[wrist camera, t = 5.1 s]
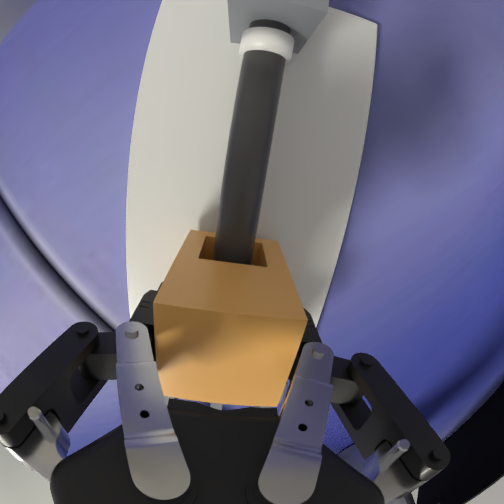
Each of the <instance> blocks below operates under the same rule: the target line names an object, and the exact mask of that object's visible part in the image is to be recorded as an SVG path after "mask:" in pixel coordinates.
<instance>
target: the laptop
mask: <svg viewBox="0 0 504 504" xmlns="http://www.w3.org/2000/svg"><path fill="white" fill-rule="evenodd" d="M443 443H444V444H445V445H446V447H447V448H448V450H449V452H450V462H449V464H448V465H447V467H445V468H444V469H443V470H442V471H440V472H439V473H438V474H436V475H435V476H434V477H432V478H431V479H430V480H428V481H427V482H425V483H424V484H423V485H421V486H420V487H419V491H418V498H417V504H465V503H467V502H468V501H470V500H472V499H473V498H475V497H476V496H477V495H479V494H480V493H482V492H483V491H484V490H486V489H487V488H489V487H490V486H491V485H493V484H494V483H495V482H497V481H498V480H499V479H500V478H501V477H503V476H504V382H503V383H502V384H501V386H500V387H499V388H498V389H497V390H496V391H495V393H494V394H493V395H492V396H491V397H490V398H489V400H488V401H487V402H486V403H485V404H484V405H483V406H482V407H481V408H480V409H479V410H478V411H477V412H476V413H475V414H474V415H473V416H472V417H471V418H470V419H469V420H468V421H467V422H466V423H465V424H464V425H463V426H462V427H461V428H459V429H458V430H457V431H456V432H455V433H454V434H453V435H451V436H450V437H449V438H448V439H447V440H446V441H444V442H443Z"/></svg>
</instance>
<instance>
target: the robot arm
mask: <svg viewBox="0 0 504 504" xmlns="http://www.w3.org/2000/svg"><path fill="white" fill-rule="evenodd" d="M162 283H163V282H161V284H160V286H159V288H158V290H157V291H156V290H149V291H148V292H147V293H145V294H144V295H143V297H142V299H141V301H140V302H139V304H138V306H137V308H136V309H135V311H134V313H133V315H132V317H131V319H130V321H129V322H125V323H123V324H121V325H119V326H118V327H117V329H116V332H98V329H97V327H96V326H95V325H94V324H92V323H90V322H78V323H75V324H74V325H72V326H71V327H70V328H69V329H67V330H66V331H65V332H64V333H63V334H62V335H61V336H60V337H58V338H57V339H56V340H55V341H54V342H53V343H52V344H51V345H50V346H49V347H48V348H46V349H45V350H44V351H43V352H42V353H41V354H40V355H39V356H38V357H37V358H36V359H35V360H34V361H33V362H32V363H31V364H30V365H29V366H28V367H26V368H25V369H24V370H23V371H22V372H21V373H20V374H19V375H18V376H17V377H16V378H15V379H14V380H13V381H12V382H11V383H10V384H9V385H8V386H7V387H6V388H5V390H4V391H3V392H2V393H1V394H0V443H1V444H2V445H3V446H4V447H5V448H6V449H7V450H8V451H9V452H10V453H11V454H12V455H13V456H14V457H15V458H16V459H17V460H19V461H20V462H21V463H22V464H23V465H24V466H26V467H27V468H28V469H31V470H35V471H36V472H38V473H39V474H40V475H41V476H42V477H44V478H45V479H46V480H47V481H49V482H50V490H51V493H52V497H53V501H54V504H415V502H414V499H413V496H412V494H411V492H412V491H413V490H415V489H417V488H418V487H420V486H421V485H423V484H424V483H425V482H427V481H428V480H430V479H431V478H432V477H434V476H435V475H436V474H438V473H439V472H440V471H442V470H443V469H444V468H445V467H447V465H448V464H449V462H450V452H449V450H448V448H447V447H446V445H445V444H444V443H443V441H442V440H441V439H440V437H439V436H438V435H437V434H436V432H435V431H434V430H433V429H432V427H431V426H430V425H429V423H428V422H427V421H426V420H425V418H424V417H423V416H422V415H421V413H420V412H419V411H418V410H417V408H416V407H415V406H414V405H413V403H412V402H411V401H410V400H409V398H408V397H407V396H406V395H405V394H404V392H403V391H402V390H401V389H400V387H399V386H398V385H397V384H396V383H395V381H394V380H393V379H392V378H391V376H390V375H389V374H388V373H387V372H386V370H385V369H384V368H383V367H382V366H381V364H380V363H379V362H378V361H377V360H376V359H375V358H374V357H373V356H371V355H369V354H366V353H356V354H354V355H353V356H352V358H351V360H347V359H343V358H339V357H336V356H334V353H333V351H332V349H331V348H330V347H328V346H327V345H325V344H323V343H322V342H321V339H320V337H319V334H318V331H317V329H316V327H315V324H314V322H313V319H312V316H311V314H310V313H309V312H308V311H307V310H306V309H305V308H304V311H305V314H306V316H307V319H308V321H307V325H306V328H305V331H304V334H303V337H302V340H301V343H300V346H299V349H298V351H297V354H296V357H295V360H294V363H293V366H292V368H291V371H290V374H289V377H288V379H289V380H290V384H289V387H288V390H287V393H286V395H285V398H284V401H283V404H282V407H281V410H280V412H279V415H278V414H277V408H256V407H249V408H242V409H235V410H227V411H222V410H218V409H215V408H212V407H208V406H205V405H202V404H199V403H196V402H190V401H184V400H177V399H171V398H169V401H168V405H166V402H165V398H164V394H163V391H162V387H161V383H160V379H159V375H158V370H157V366H156V365H157V361H156V349H155V334H154V315H153V301H154V299H155V297H156V295H157V293H158V291H159V289H160V287H161V285H162ZM115 379H117V387H118V396H119V405H120V412H121V419H122V424H121V425H120V426H118V427H117V428H115V429H113V430H112V431H110V432H109V433H107V434H105V435H104V436H102V437H100V438H99V439H97V440H95V441H94V442H92V443H90V444H89V445H87V446H85V447H83V448H82V449H80V450H78V451H76V452H75V453H73V454H71V455H69V456H68V457H67V453H68V449H69V447H70V438H69V435H68V433H69V431H70V430H71V429H72V427H73V426H74V425H75V423H76V422H77V421H78V419H79V418H80V416H81V415H82V414H83V412H84V411H85V410H86V408H87V407H88V406H89V404H90V403H91V402H92V400H93V399H94V398H95V396H96V395H97V394H98V393H99V391H100V390H101V389H102V387H103V386H104V385H105V383H106V382H107V381H108V380H115ZM363 395H364V396H365V398H366V399H367V400H368V402H369V403H370V405H371V407H372V412H371V410H370V409H369V407H368V406H367V404H366V403H365V402H364V400H363V399H362V397H363ZM330 402H331V405H332V406H333V408H334V410H335V412H336V413H337V415H338V417H339V418H340V420H341V422H342V423H343V425H344V427H345V428H346V430H347V432H348V433H349V435H350V437H351V438H352V440H353V442H354V443H355V444H354V445H352V446H350V447H348V448H346V449H345V450H343V451H342V452H341V453H340V454H338V455H336V454H335V453H334V452H333V451H331V450H330V449H329V448H328V447H326V446H325V445H324V444H323V440H324V435H325V430H326V425H327V419H328V414H329V408H330Z"/></svg>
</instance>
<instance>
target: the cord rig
mask: <svg viewBox="0 0 504 504" xmlns="http://www.w3.org/2000/svg"><path fill="white" fill-rule="evenodd" d="M376 41H377V24H376V23H373V22H371V21H368V20H366V19H363V18H361V17H358V16H355V15H352V14H350V13H347V12H344V11H341V10H338V9H335V8H331V7H329V0H162V3H161V6H160V9H159V12H158V15H157V18H156V22H155V25H154V28H153V32H152V35H151V39H150V43H149V47H148V51H147V55H146V59H145V63H144V68H143V72H142V77H141V82H140V87H139V92H138V98H137V104H136V110H135V116H134V123H133V131H132V139H131V148H130V158H129V169H128V184H127V205H126V263H127V284H128V298H129V310H130V319H131V317H132V315H133V313H134V311H135V309H136V308H137V306H138V304H139V302H140V301H141V299H142V297H143V295H144V294H145V293H147V292H148V291H149V290H156V291H157V290H158V288H159V286H160V284H161V282H163V281H164V279H165V277H166V275H167V273H168V271H169V269H170V267H171V265H172V263H173V262H174V260H175V258H176V256H177V254H178V252H179V250H180V248H181V246H182V244H183V243H184V241H185V239H186V237H187V235H188V233H189V232H190V230H199V231H207V232H215V233H216V234H215V243H214V252H213V260H214V261H222V262H230V263H238V264H246V265H251V263H252V257H253V251H254V245H255V239H256V238H260V239H267V240H275V241H278V243H279V246H280V248H281V251H282V253H283V256H284V259H285V261H286V264H287V266H288V269H289V271H290V274H291V277H292V279H293V282H294V284H295V287H296V290H297V292H298V295H299V298H300V300H301V303H302V306H303V308H305V309H306V310H307V311H308V312H309V313H310V314H311V316H312V319H313V322H314V324H315V327H316V326H317V323H318V320H319V318H320V315H321V312H322V309H323V305H324V302H325V299H326V296H327V293H328V290H329V287H330V283H331V280H332V277H333V273H334V270H335V266H336V263H337V259H338V256H339V252H340V249H341V245H342V241H343V237H344V234H345V230H346V226H347V222H348V218H349V214H350V209H351V205H352V201H353V196H354V192H355V187H356V183H357V178H358V173H359V168H360V163H361V158H362V152H363V147H364V141H365V135H366V129H367V123H368V116H369V109H370V102H371V94H372V86H373V77H374V67H375V55H376ZM156 366H157V365H156ZM287 385H288V384H287V382H286V385H285V387H284V390H283V393H282V395H281V398H280V400H279V403H278V404H280V402H281V400H282V397H283V395H284V392H285V390H286V387H287ZM164 398H165V402H166V405H168V401H169V398H171V399H177V400H178V398H174V397H169V396H164ZM222 405H223V404H221V403H211V407H212V408H215V409H218V410H222ZM253 407H256V408H271V406H253Z"/></svg>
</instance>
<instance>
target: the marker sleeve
mask: <svg viewBox="0 0 504 504" xmlns="http://www.w3.org/2000/svg"><path fill="white" fill-rule="evenodd" d="M215 234H216V233H215V232H207V231H199V230H190V232H189V233H188V235H187V237H186V239H185V241H184V243H183V244H182V246H181V248H180V250H179V252H178V254H177V256H176V258H175V260H174V262H173V263H172V265H171V267H170V269H169V271H168V273H167V275H166V277H165V279H164V281H163V283H162V285H161V287H160V289H159V291H158V293H157V295H156V297H155V299H154V301H153V315H154V334H155V349H156V361H157V370H158V375H159V379H160V383H161V387H162V391H163V394H164V396H169V397H174V398H181V399H187V400H195V401H202V402H211V403H221V404H232V405H247V406H273V407H277V405H278V403H279V400H280V398H281V395H282V393H283V390H284V387H285V385H286V382H287V379H288V377H289V374H290V371H291V368H292V366H293V363H294V360H295V357H296V354H297V351H298V349H299V346H300V343H301V340H302V337H303V334H304V331H305V328H306V325H307V321H308V319H307V316H306V314H305V311H304V308H303V306H302V303H301V300H300V298H299V295H298V292H297V290H296V287H295V284H294V282H293V279H292V277H291V274H290V271H289V269H288V266H287V264H286V261H285V259H284V256H283V253H282V251H281V248H280V246H279V243H278V241H275V240H267V239H260V238H256V239H255V245H254V251H253V257H252V263H251V265H246V264H238V263H230V262H222V261H214V260H213V252H214V243H215Z"/></svg>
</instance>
